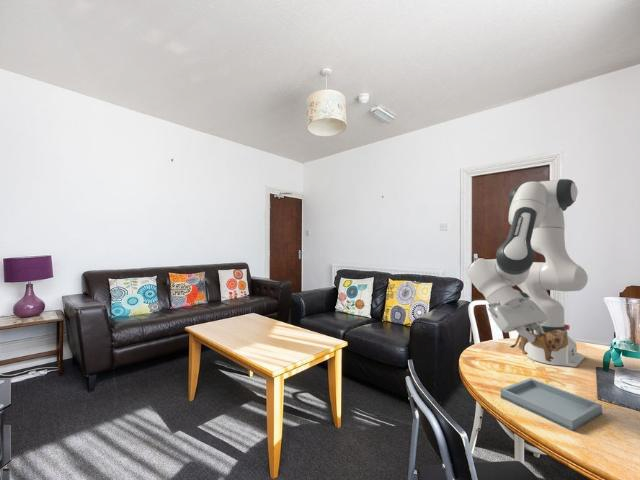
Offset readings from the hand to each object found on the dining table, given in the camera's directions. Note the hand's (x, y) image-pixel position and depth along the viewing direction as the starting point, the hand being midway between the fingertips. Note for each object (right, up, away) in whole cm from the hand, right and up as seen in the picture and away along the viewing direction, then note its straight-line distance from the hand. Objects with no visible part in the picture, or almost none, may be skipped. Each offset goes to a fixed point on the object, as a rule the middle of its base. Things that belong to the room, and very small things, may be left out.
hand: (539, 339), depth 86 cm
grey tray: (+1, -18, -2) cm, 18 cm away
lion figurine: (0, -5, 0) cm, 5 cm away
